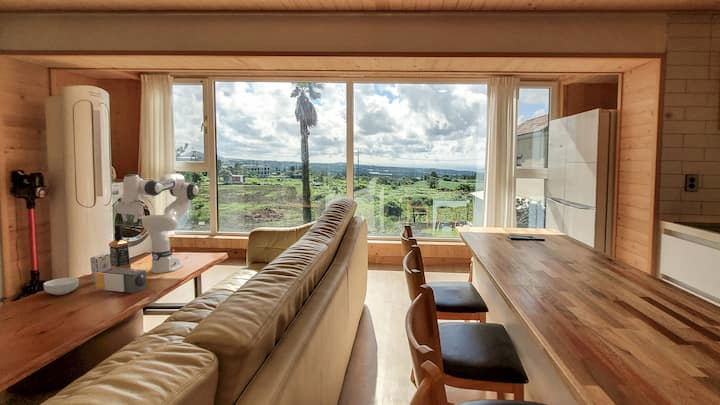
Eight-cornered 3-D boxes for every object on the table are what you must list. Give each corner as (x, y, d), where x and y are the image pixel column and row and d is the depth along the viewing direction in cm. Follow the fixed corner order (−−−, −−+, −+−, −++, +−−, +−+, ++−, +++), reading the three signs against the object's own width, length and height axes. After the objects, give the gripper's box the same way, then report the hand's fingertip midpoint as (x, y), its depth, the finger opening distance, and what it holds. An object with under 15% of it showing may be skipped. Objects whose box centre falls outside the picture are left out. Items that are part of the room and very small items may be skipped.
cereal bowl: (86, 290, 245) (85, 278, 244) (58, 299, 229) (57, 287, 228) (66, 287, 250) (65, 275, 249) (37, 295, 235) (36, 283, 234)
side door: (124, 291, 241) (123, 274, 239) (122, 292, 239) (121, 275, 238) (98, 288, 246) (97, 272, 245) (96, 289, 244) (94, 273, 243)
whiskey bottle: (109, 271, 285) (106, 225, 281) (123, 267, 293) (120, 223, 289) (117, 273, 279) (114, 227, 276) (131, 269, 288) (129, 224, 284)
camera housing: (120, 284, 254) (119, 266, 253) (148, 288, 248) (147, 269, 247) (106, 290, 245) (105, 270, 243) (135, 293, 239) (134, 273, 237)
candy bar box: (106, 277, 269) (104, 253, 267) (112, 278, 268) (110, 253, 266) (91, 283, 258) (89, 257, 256) (98, 283, 257) (96, 258, 255)
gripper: (146, 200, 256) (145, 222, 257) (124, 199, 265) (123, 220, 265) (137, 200, 251) (136, 222, 251) (115, 199, 259) (114, 220, 259)
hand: (129, 221), depth 258 cm, fingers open, 8 cm apart
